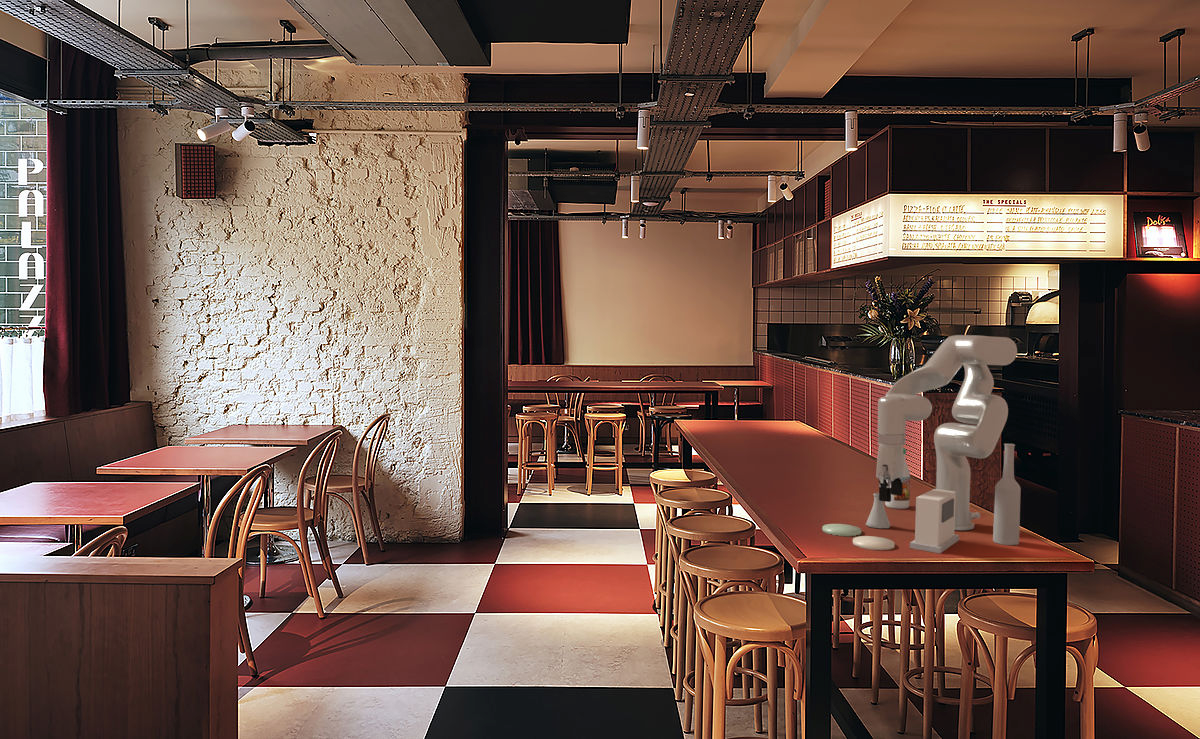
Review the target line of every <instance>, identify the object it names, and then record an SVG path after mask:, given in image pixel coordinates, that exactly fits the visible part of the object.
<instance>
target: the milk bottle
mask: <svg viewBox="0 0 1200 739" xmlns="http://www.w3.org/2000/svg"><path fill="white" fill-rule="evenodd" d="M906 454H907V449H906V448H904V447H903V456H904V470H903V475H902V477H903V481H902V482H903V490H902V495H901V496H899V495H892V494H891V501H890V502H886V501H884V506H885V507H887V508H890V509H900V510H903V509H905V510H906V509H908V508H910V495H911V493H910V492H911V471H910V468H909V466H908V462H907V460H906ZM891 481H893V480H891ZM887 482H888V481H887ZM890 488H891V484H890Z"/></svg>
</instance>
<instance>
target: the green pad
mask: <svg viewBox="0 0 1200 739" xmlns="http://www.w3.org/2000/svg"><path fill="white" fill-rule="evenodd" d="M821 529H822V532H823V533H825V534H829V535H831V534H832V536H836V535H838V536H839V537H857V536H856V535H858V536H860V535H862V528H860V527H858V526H856V525H852V524H844V523H828V524H824V525H823V526H822V528H821Z"/></svg>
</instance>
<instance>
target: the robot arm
mask: <svg viewBox="0 0 1200 739" xmlns="http://www.w3.org/2000/svg"><path fill="white" fill-rule="evenodd" d="M1017 354H1018V348H1017V344H1016V343H1015V341H1014V340H1012V339H1011V338H1009V337H1005V336H987V335H980V334H979V335H975V334H974V335H972V334H971V335H970V334H964V335H963V334H956V335H955V334H954V335H950V336H948V337H947V338H946V339H945V340H943V341H942V343H941V344H940V345H939V347H938V348H937V349H936V350H935V352H934V353H933V354H932V355H931V357H930V358H929V359H928V360H927V362H925V364H924V365H923V366H921V367H919V368H917V369H915V370H913V371H911V372H909V373H908V374H906V375H904V376H902V377H901V378H899V379H898V380H897V381H896V382H894V384H893V385H892V386H891V387H890V389H889V390H888V391H887V392H886V393H885V396H882V397H881V396H880V397H879V399H878V401H877V445H878V450H877V458H876V474H875V476H876V478H877V479H878V488H879V489H878V491H879V492H878V493H879V500H880V501H883V502H885V501H886V502H890V501H891V494H892V495H899V496H901V495H902V490H903V482H902V481H903V477H902V475H903V470H904V456H903V448H904V446H905V445H906V427H907V426H906V421H911V422H913V421H914V422H921V421H925V420H926V419H928V418H929V417H930V416H931V413H932V410H933V405H932V403H931V401H930V400H929V399H928V398H927V397H926V396H923V395H918V394H919V393H923V392H927V391H931V390H935V389H938V388H942V387H944V386H946V385H948V384H949V383H950V382H951V381H952V380H953V378H954V377H955V375H956V374H957V372H958V371H959V370H960V369H961V368H962V367H963V368H964V379H963V382H962V384H961V386H960V389H959V391H958V393H957V396H956V398H955V399H954V402H953V405H952V408H951V414H952V417H953V419H955V421H956V422H945V423H942V424H940V425H939V426H938V427H936V429H935V431H934V433H933V434H934V435H933V443H934V448H935V454H936V455H935V456H936V457H935V458H936V476H935V477H936V482H935V489H939V490H946V491H954V492H956V501H955V530H954V531H971V530H973V529H975V524H974V522H972V520H976V519H978V520H979V519H980V518H981V513H980V512H978V511H975V512H972V511H970V496H971V493H970V492H971V473H972V472H971V466H970V463H969V460H968V459H967V457H968V458H974V459H975V458H976V459H986V458H988V457H990V455H992V453H993V452H994V450H995V448H996V446H997V443H998V442H999V439H1000V437H1001V434H1002V432H1003V430H1004V427H1005V425H1006V422H1007V420H1008V415H1009V408H1008V407H1009V406H1008V403H1007V402H1006V400H1005V399H1004V398H1003V397H1001V396H1000V395H996V394H992V391H993V389H994V385H995V381H994V377H993V375H992V374H993V373H991V371H990V369H989V366H1008V365H1010V364H1011V363H1012V362H1014V361H1015V359H1016V357H1017ZM957 421H958V422H960V423H958V422H957ZM891 480H893V481H891ZM887 481H888V482H887ZM890 484H891V488H890Z"/></svg>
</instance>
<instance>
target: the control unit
mask: <svg viewBox="0 0 1200 739" xmlns="http://www.w3.org/2000/svg"><path fill="white" fill-rule="evenodd" d="M955 501H956V492H954V491H946V490H939V489H936V488H933V489H931V490H928V491H925V493H923V494H921V495H919V496H916V497H915V522H914V523H915V525H914V526H915V527H914V530H915V531H914V539H913V540H912V541H910V542H909V549H913V550H918V551H924V552H929V553H935V554H942V553H943V552H945V551H946V550H947V549H949V548H950V547H951V546H953V545H955V544H956V543H957V542H959V540H960V534H955V531H956V530H955Z"/></svg>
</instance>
